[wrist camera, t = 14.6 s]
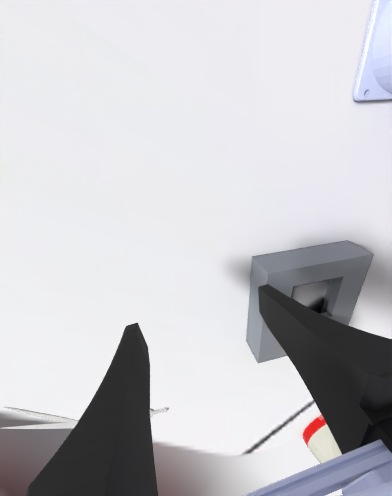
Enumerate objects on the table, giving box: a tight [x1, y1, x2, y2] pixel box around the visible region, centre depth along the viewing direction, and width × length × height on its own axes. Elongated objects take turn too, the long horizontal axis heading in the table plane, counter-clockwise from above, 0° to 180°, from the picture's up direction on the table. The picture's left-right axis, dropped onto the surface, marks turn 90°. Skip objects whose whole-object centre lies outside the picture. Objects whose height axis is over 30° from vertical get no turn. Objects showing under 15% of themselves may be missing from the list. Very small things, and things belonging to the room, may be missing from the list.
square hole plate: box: [246, 241, 374, 363], centre depth 27 cm, size 12×13×3 cm
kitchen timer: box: [303, 415, 342, 464], centre depth 44 cm, size 14×14×15 cm
